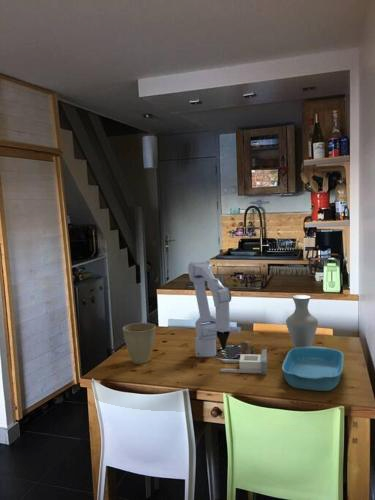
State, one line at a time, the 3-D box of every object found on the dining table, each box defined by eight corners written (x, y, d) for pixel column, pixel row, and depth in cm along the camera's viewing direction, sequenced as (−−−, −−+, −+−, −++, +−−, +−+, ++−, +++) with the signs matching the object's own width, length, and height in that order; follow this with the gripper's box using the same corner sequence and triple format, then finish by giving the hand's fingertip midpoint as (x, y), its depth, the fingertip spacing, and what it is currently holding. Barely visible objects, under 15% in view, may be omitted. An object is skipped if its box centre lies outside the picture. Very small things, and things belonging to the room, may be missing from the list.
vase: (315, 343, 213) (314, 293, 210) (321, 353, 198) (320, 299, 196) (284, 343, 214) (283, 293, 211) (288, 353, 200) (287, 300, 197)
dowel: (240, 358, 197) (240, 343, 196) (241, 355, 201) (240, 340, 200) (249, 358, 196) (249, 343, 195) (250, 355, 200) (249, 340, 199)
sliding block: (239, 371, 179) (239, 361, 179) (241, 363, 188) (240, 354, 188) (261, 371, 178) (261, 362, 177) (262, 363, 187) (261, 354, 186)
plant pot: (147, 368, 190) (144, 333, 188) (118, 364, 196) (116, 330, 194) (163, 357, 203) (161, 323, 201) (135, 353, 209) (133, 321, 208)
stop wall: (261, 375, 175) (261, 361, 174) (262, 361, 189) (261, 349, 189) (266, 375, 174) (266, 361, 174) (267, 361, 189) (266, 349, 189)
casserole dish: (291, 358, 195) (291, 342, 194) (344, 362, 186) (344, 346, 186) (277, 392, 160) (277, 374, 160) (342, 400, 152) (342, 380, 152)
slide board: (217, 376, 178) (217, 371, 178) (221, 362, 193) (221, 357, 193) (267, 377, 174) (267, 372, 174) (267, 363, 190) (267, 358, 189)
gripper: (204, 319, 180) (205, 351, 182) (239, 320, 178) (240, 352, 179) (206, 315, 187) (207, 346, 189) (240, 315, 184) (241, 346, 186)
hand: (223, 348), depth 184 cm, fingers closed
